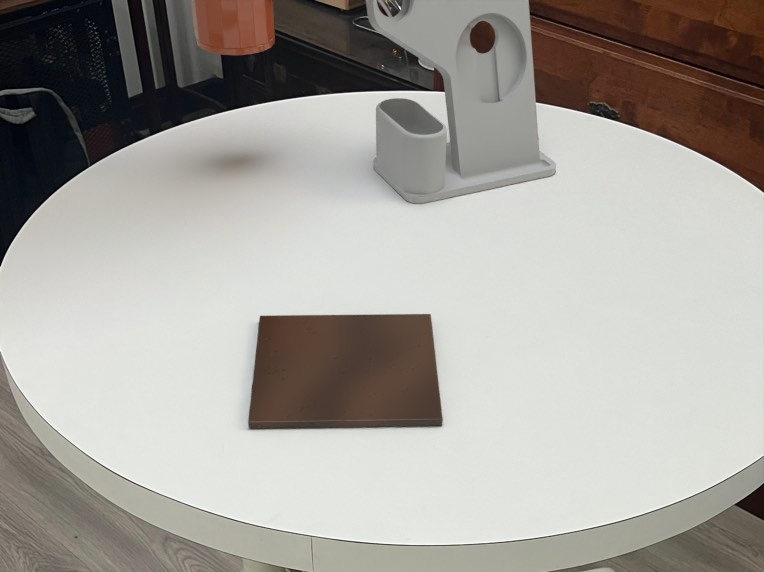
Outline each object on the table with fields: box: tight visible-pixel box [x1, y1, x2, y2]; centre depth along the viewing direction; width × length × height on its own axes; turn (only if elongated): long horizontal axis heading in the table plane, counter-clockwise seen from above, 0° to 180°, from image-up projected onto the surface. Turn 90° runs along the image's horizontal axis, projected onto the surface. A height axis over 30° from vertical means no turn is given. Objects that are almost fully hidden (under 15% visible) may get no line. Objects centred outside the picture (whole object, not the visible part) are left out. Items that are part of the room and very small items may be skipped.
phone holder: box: [365, 0, 557, 204], centre depth 96 cm, size 17×10×18 cm, turn 116°
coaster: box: [247, 313, 444, 429], centre depth 77 cm, size 14×14×1 cm
